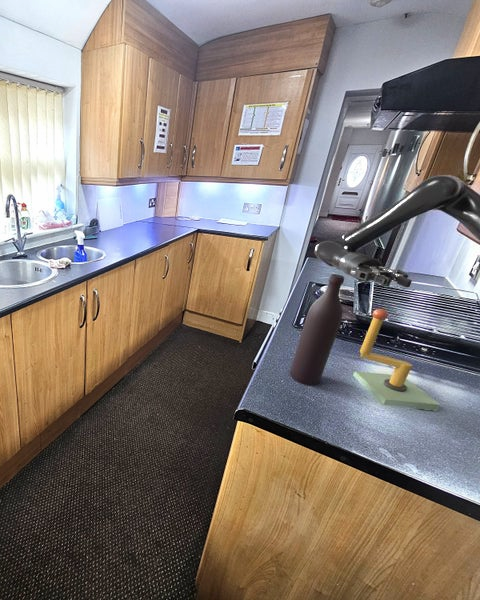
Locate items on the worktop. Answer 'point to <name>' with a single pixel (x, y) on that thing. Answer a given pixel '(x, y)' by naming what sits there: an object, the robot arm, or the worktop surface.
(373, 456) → the worktop surface
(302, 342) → the wine bottle
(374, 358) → the rod
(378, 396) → the stand
